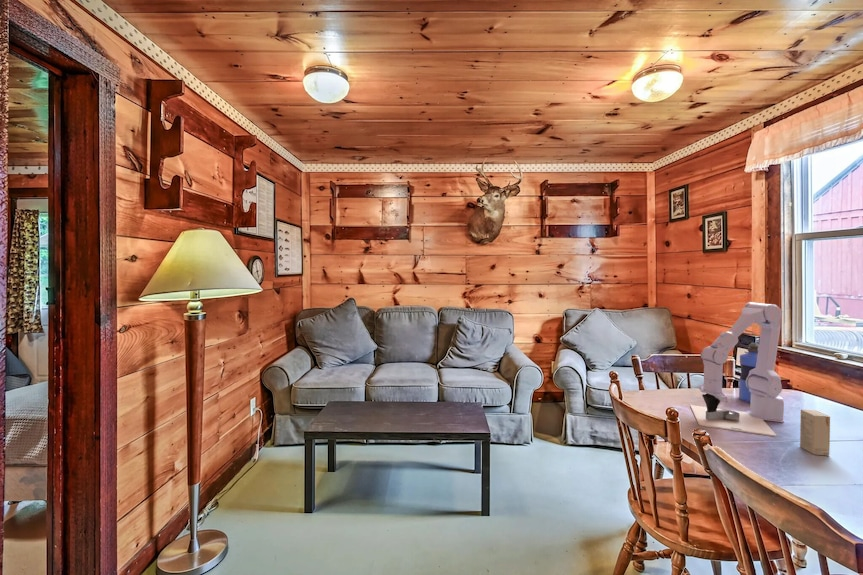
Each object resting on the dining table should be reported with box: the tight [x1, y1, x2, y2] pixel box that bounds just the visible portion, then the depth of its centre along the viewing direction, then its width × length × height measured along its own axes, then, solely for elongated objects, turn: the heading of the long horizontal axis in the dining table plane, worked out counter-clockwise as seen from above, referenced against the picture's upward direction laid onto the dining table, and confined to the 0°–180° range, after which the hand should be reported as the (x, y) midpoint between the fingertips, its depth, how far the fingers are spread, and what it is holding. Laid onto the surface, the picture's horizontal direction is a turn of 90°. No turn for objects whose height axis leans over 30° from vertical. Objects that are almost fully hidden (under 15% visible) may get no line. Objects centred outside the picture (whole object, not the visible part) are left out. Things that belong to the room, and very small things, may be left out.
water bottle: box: [738, 342, 766, 404], centre depth 170 cm, size 9×9×25 cm
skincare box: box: [799, 409, 831, 456], centre depth 123 cm, size 6×4×12 cm
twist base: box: [690, 404, 777, 438], centre depth 149 cm, size 22×22×1 cm
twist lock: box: [706, 408, 740, 421], centre depth 148 cm, size 13×6×3 cm, turn 102°
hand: (711, 414), depth 149 cm, fingers closed, pressing on twist lock
